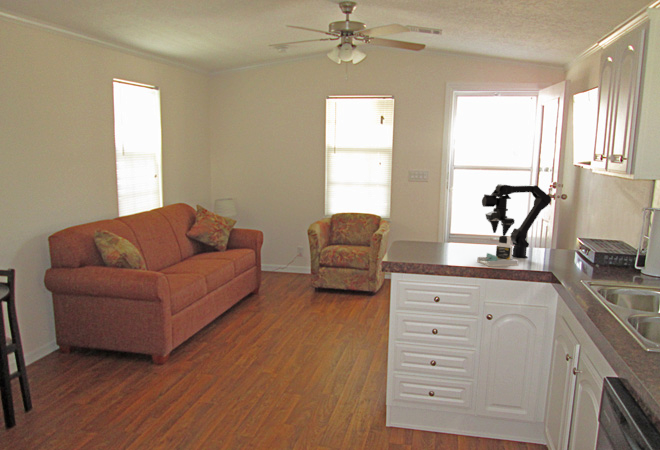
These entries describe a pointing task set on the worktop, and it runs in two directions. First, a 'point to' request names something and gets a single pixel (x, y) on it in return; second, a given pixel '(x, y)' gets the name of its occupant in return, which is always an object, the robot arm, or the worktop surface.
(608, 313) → the worktop surface
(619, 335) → the worktop surface
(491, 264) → the lane
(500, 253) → the medicine bottle
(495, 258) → the pusher
